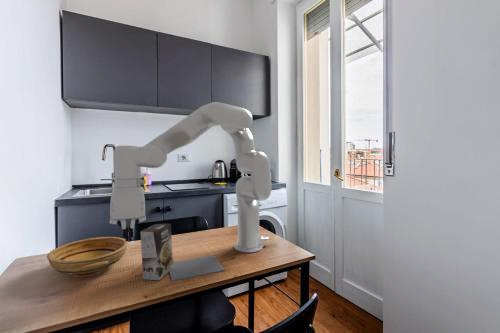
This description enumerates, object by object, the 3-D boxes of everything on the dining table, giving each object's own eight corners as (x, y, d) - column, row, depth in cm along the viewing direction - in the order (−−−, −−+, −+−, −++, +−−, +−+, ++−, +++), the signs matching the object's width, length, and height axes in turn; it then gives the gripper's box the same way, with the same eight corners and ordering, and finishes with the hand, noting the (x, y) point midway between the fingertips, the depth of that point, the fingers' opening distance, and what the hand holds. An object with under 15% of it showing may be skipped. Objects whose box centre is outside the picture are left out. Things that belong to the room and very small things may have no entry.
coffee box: (160, 280, 80) (157, 231, 79) (142, 279, 81) (139, 231, 80) (174, 267, 89) (171, 223, 88) (158, 266, 90) (155, 223, 89)
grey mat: (213, 256, 100) (213, 255, 100) (224, 270, 88) (224, 269, 88) (167, 264, 93) (167, 263, 93) (171, 281, 80) (171, 280, 80)
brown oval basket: (48, 264, 93) (47, 243, 93) (119, 249, 108) (119, 231, 108) (46, 300, 70) (45, 272, 69) (138, 274, 85) (137, 251, 84)
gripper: (152, 182, 87) (152, 234, 87) (102, 183, 81) (103, 239, 81) (153, 184, 80) (153, 240, 80) (99, 186, 74) (100, 247, 74)
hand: (128, 239), depth 81 cm, fingers closed
